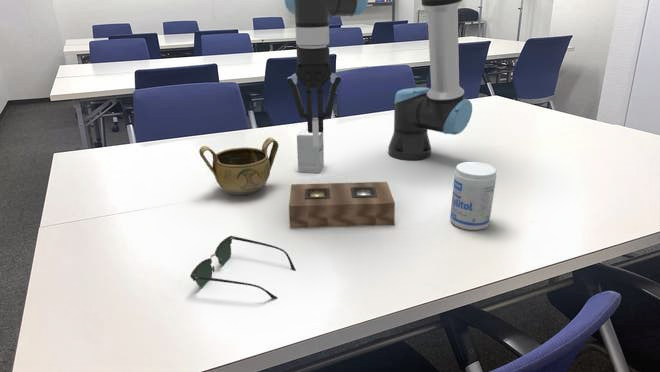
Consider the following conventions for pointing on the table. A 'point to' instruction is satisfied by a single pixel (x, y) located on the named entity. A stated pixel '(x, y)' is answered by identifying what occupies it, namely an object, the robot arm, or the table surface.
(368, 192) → the steel peg
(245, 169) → the ceramic bowl
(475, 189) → the supplement tub
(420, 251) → the table surface
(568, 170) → the table surface
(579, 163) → the table surface
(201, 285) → the sunglasses
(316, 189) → the walnut block
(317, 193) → the brass peg
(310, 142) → the supplement box
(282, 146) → the table surface
